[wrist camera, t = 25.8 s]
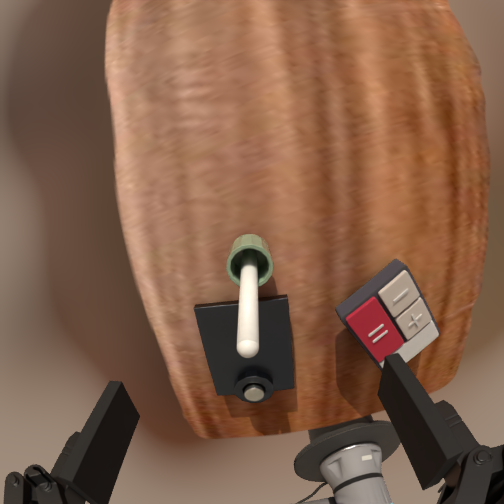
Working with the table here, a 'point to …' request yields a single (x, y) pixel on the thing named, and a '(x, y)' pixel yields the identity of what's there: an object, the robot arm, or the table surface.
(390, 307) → the calculator
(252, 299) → the stylus
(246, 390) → the button
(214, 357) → the tablet
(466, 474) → the robot arm
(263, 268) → the pen cup
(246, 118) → the table surface
